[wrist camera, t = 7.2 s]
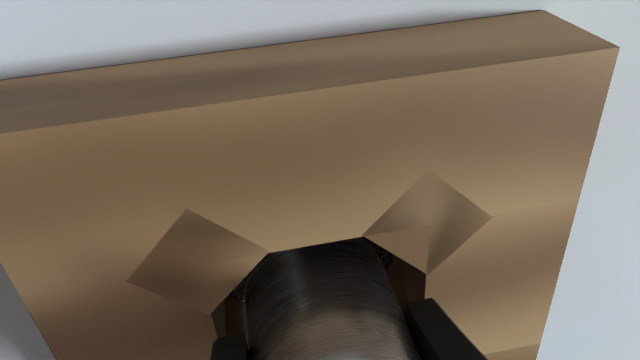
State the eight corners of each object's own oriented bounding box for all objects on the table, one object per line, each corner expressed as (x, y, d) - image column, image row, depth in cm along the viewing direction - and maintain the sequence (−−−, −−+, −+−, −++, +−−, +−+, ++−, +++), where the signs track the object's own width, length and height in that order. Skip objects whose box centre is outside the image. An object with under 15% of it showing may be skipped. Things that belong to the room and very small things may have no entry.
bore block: (484, 347, 18) (521, 413, 16) (146, 416, 17) (136, 498, 15) (543, 10, 12) (620, 47, 9) (-11, 81, 10) (-69, 143, 8)
